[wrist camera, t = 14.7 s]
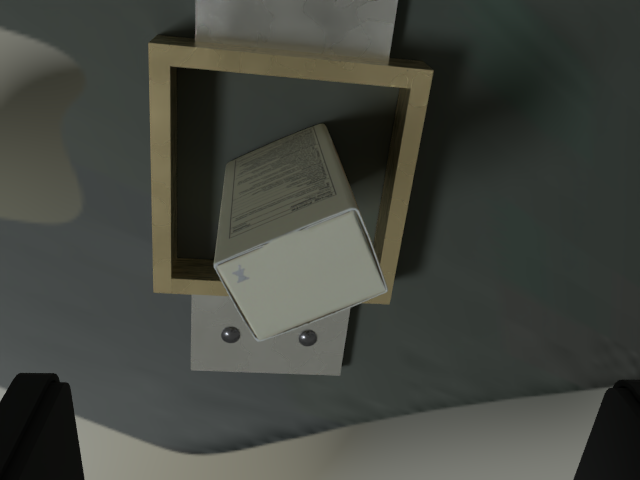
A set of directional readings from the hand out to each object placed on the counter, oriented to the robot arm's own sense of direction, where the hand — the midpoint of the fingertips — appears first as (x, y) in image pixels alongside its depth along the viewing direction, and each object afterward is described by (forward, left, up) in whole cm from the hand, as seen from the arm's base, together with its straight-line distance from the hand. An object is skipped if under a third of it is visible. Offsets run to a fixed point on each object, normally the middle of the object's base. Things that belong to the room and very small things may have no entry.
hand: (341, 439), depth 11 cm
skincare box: (0, +4, -25) cm, 26 cm away
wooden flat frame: (0, +4, -25) cm, 25 cm away
